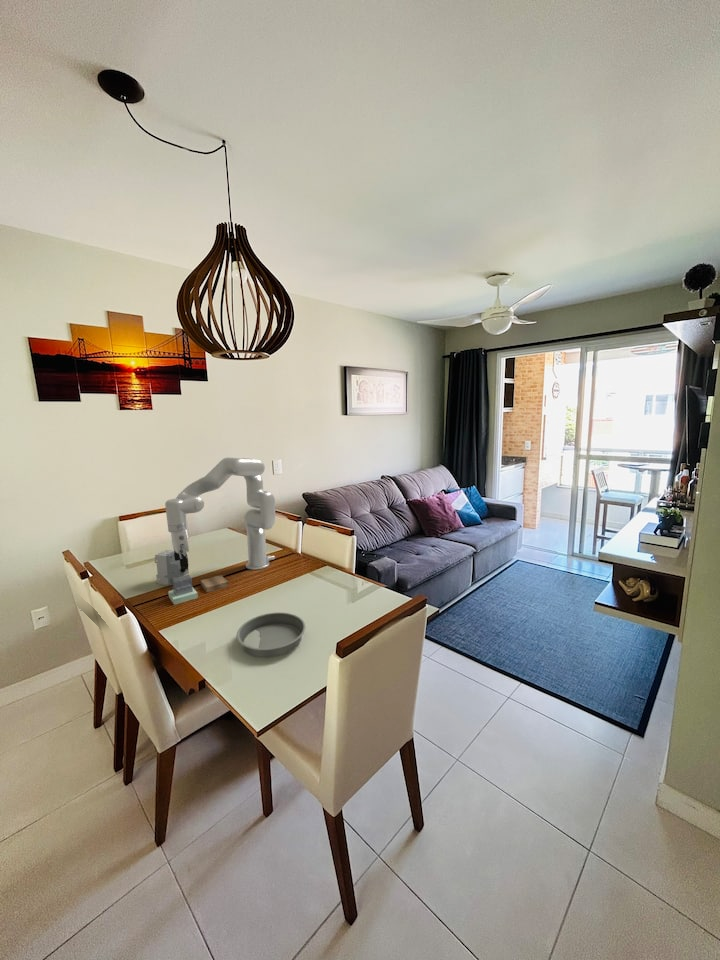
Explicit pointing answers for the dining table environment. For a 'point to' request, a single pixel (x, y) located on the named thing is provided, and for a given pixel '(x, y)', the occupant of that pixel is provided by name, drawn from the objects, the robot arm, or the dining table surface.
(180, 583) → the block
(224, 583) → the stand walnut
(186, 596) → the stand green
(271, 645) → the cake pan
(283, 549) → the dining table surface
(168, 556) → the circuit breaker
